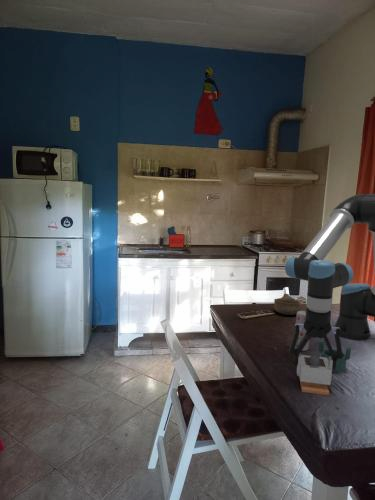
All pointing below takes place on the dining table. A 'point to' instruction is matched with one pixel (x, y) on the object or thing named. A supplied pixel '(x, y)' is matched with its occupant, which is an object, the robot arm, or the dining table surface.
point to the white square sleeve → (315, 371)
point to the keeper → (314, 386)
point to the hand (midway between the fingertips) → (313, 375)
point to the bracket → (340, 362)
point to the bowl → (286, 305)
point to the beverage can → (300, 320)
